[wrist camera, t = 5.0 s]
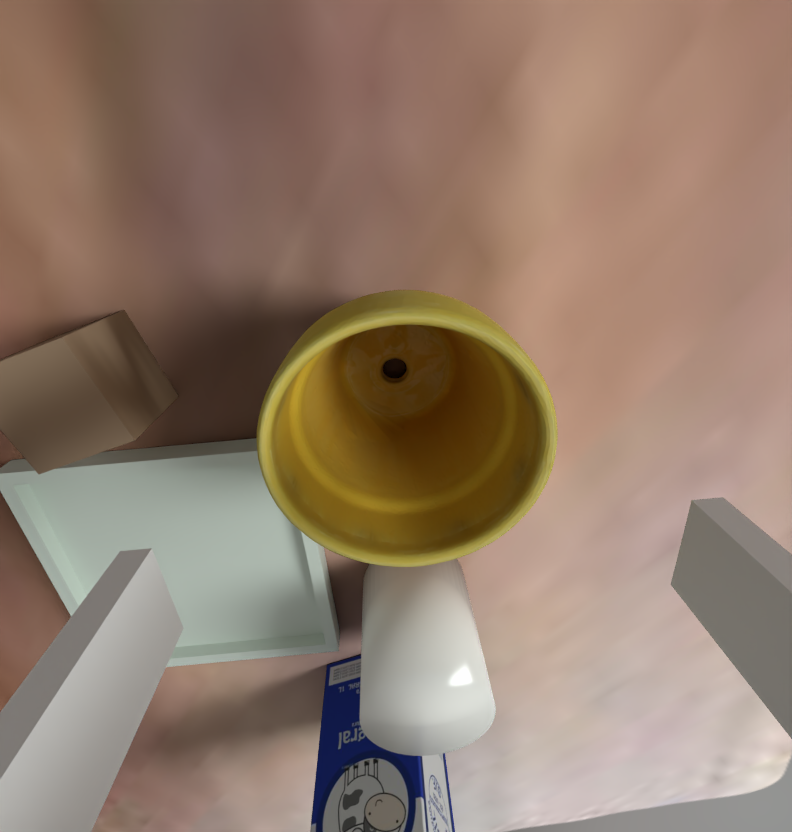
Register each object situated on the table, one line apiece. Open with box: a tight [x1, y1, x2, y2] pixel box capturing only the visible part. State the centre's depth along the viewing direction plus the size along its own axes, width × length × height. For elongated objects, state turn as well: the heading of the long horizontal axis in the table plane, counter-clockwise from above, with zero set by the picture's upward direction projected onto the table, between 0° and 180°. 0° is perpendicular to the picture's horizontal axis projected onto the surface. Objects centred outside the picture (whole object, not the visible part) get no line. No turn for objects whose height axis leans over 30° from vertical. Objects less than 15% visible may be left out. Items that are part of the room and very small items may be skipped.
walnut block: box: [0, 310, 179, 474], centre depth 21 cm, size 5×5×5 cm
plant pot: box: [257, 290, 557, 567], centre depth 20 cm, size 10×10×10 cm
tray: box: [0, 438, 340, 667], centre depth 28 cm, size 17×17×2 cm
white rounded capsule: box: [360, 559, 496, 756], centre depth 27 cm, size 7×7×9 cm
